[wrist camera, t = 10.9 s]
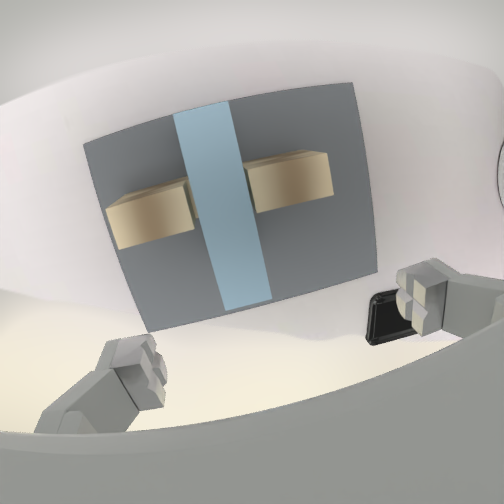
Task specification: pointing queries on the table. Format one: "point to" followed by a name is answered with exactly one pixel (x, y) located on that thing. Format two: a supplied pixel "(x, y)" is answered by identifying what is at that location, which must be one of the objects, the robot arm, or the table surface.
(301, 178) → the beech rail
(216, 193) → the blue plate
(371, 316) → the phone
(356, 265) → the mat
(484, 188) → the table surface
